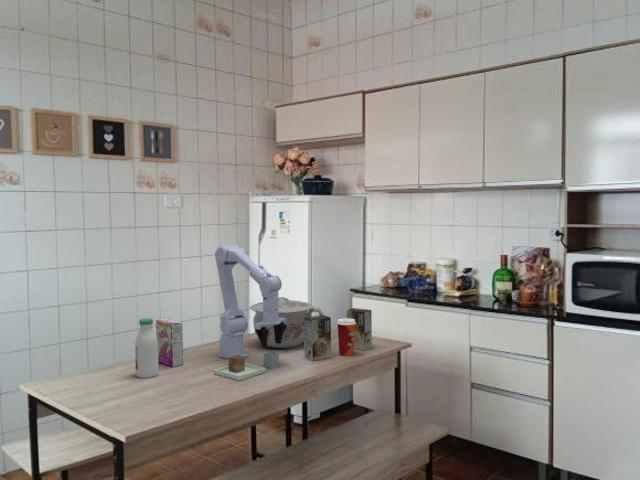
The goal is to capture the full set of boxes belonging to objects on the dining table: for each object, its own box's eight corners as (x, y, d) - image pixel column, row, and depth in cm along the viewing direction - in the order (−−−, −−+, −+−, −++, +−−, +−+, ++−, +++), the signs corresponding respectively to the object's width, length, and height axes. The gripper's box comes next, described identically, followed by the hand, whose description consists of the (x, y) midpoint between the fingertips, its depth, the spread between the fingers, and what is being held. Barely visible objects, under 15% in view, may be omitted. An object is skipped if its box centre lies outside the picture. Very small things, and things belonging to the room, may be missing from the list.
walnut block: (228, 370, 203) (228, 357, 203) (237, 368, 207) (236, 354, 206) (236, 372, 201) (236, 358, 201) (244, 370, 204) (244, 356, 204)
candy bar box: (155, 362, 217) (155, 319, 216) (167, 359, 221) (166, 318, 220) (172, 367, 209) (171, 323, 209) (183, 365, 213) (182, 321, 212)
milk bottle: (163, 373, 203) (161, 317, 202) (149, 379, 196) (148, 321, 194) (144, 371, 205) (143, 316, 204) (131, 377, 198) (129, 320, 197)
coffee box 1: (322, 354, 228) (322, 314, 227) (331, 357, 223) (331, 316, 222) (303, 357, 223) (303, 316, 222) (312, 361, 218) (312, 319, 217)
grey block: (263, 366, 211) (263, 353, 210) (271, 364, 214) (270, 351, 213) (271, 368, 208) (271, 355, 208) (278, 366, 211) (278, 352, 211)
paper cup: (354, 357, 223) (354, 322, 222) (335, 356, 225) (335, 321, 224) (357, 352, 231) (357, 318, 230) (338, 351, 232) (338, 317, 231)
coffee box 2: (372, 347, 238) (372, 309, 238) (365, 350, 233) (365, 312, 232) (353, 344, 243) (353, 307, 243) (346, 347, 238) (345, 309, 237)
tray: (213, 374, 201) (213, 369, 201) (240, 366, 211) (240, 361, 211) (239, 381, 193) (239, 376, 193) (265, 372, 203) (265, 367, 203)
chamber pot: (236, 345, 243) (235, 297, 242) (282, 334, 263) (281, 290, 262) (283, 356, 224) (282, 304, 223) (328, 344, 245) (327, 296, 244)
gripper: (264, 313, 202) (265, 350, 202) (291, 307, 213) (292, 343, 214) (250, 311, 206) (251, 347, 207) (278, 305, 217) (278, 340, 218)
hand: (271, 345), depth 210 cm, fingers open, 7 cm apart
